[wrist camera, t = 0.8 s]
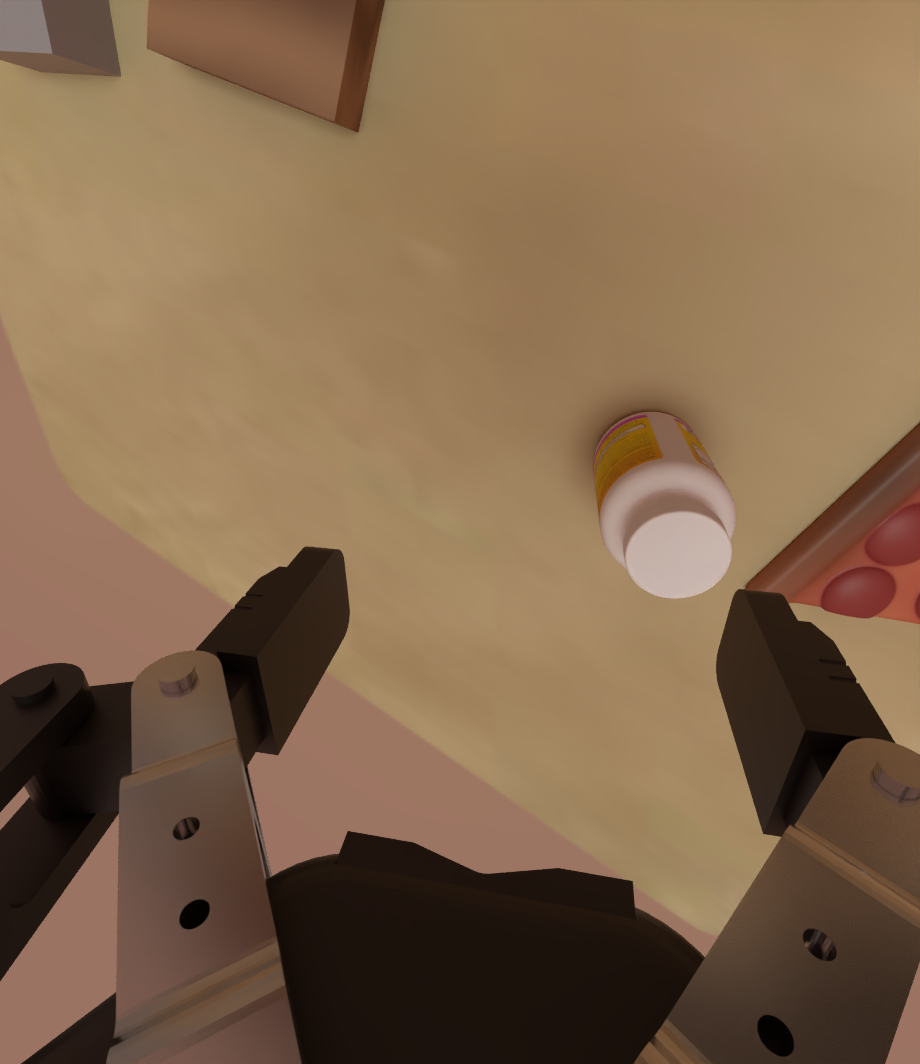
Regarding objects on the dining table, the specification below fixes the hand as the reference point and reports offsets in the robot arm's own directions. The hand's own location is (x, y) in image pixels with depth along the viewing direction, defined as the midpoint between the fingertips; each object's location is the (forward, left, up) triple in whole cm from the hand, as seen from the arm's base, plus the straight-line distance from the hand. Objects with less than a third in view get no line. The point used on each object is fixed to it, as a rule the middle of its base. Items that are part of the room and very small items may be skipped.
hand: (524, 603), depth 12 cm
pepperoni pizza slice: (+3, +30, -28) cm, 41 cm away
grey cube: (-7, -32, -27) cm, 42 cm away
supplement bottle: (+4, +8, -27) cm, 29 cm away
